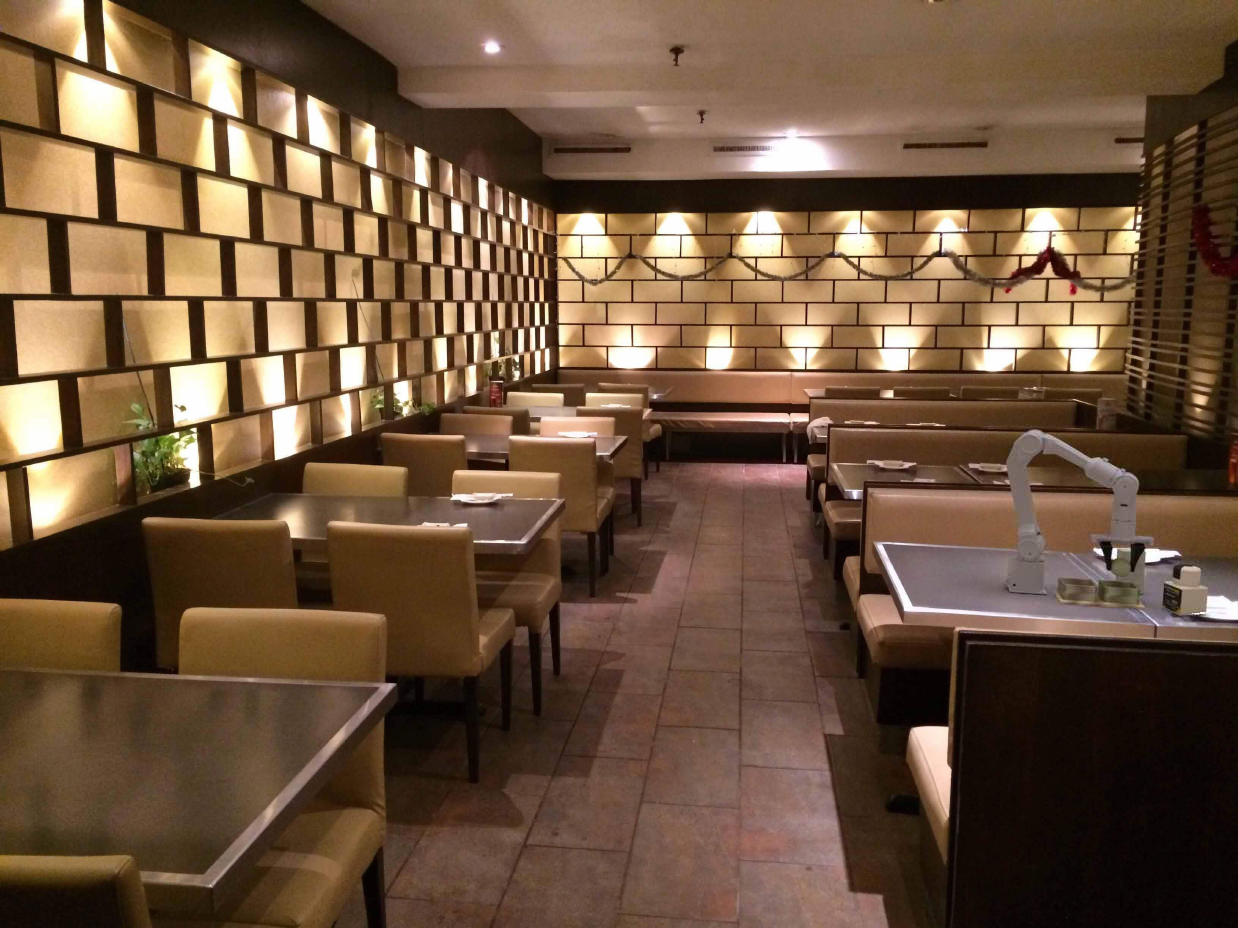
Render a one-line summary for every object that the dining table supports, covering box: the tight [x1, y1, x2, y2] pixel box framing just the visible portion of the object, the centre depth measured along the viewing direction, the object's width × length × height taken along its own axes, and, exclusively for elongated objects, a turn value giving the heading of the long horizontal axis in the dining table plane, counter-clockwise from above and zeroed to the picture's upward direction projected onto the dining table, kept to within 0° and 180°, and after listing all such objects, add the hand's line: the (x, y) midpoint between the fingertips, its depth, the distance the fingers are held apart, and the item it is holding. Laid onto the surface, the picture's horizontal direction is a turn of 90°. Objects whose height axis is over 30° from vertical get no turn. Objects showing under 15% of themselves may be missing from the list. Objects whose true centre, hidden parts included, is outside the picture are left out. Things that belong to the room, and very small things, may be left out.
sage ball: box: [1110, 557, 1131, 577], centre depth 255 cm, size 5×5×5 cm
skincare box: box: [1114, 547, 1147, 595], centre depth 265 cm, size 6×4×12 cm
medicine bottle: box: [1161, 563, 1209, 617], centre depth 246 cm, size 7×7×12 cm
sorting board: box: [1053, 576, 1146, 610], centre depth 256 cm, size 20×11×5 cm, turn 75°
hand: (1120, 570), depth 255 cm, fingers closed on sage ball, 5 cm apart
